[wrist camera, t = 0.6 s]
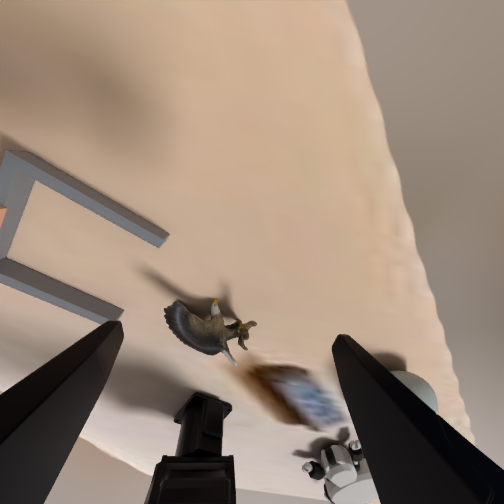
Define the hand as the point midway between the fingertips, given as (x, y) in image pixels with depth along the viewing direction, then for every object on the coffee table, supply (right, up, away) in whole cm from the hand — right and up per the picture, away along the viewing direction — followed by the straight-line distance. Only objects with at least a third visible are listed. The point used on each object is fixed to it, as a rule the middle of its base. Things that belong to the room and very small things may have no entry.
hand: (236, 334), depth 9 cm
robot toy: (+18, -36, +31) cm, 51 cm away
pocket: (-16, +4, +12) cm, 21 cm away
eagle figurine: (-4, -4, +17) cm, 18 cm away
